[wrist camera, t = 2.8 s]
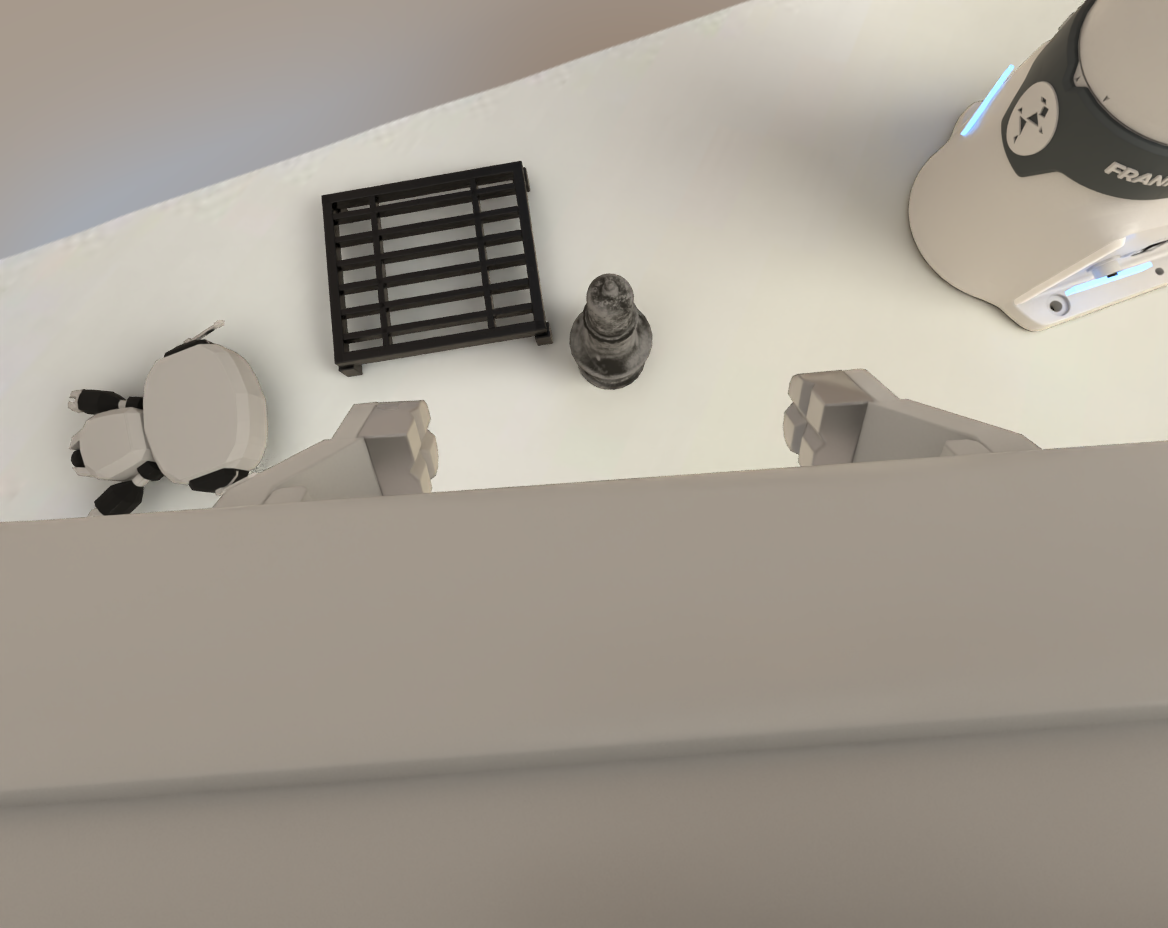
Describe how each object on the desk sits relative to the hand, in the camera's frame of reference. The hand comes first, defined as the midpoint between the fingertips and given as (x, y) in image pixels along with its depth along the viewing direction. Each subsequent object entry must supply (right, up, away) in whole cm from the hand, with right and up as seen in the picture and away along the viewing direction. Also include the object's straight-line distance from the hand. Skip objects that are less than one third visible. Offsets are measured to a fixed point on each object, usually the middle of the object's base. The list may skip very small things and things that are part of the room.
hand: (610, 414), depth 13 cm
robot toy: (-31, +1, +31) cm, 44 cm away
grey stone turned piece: (+2, +7, +31) cm, 31 cm away
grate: (-12, +14, +32) cm, 37 cm away
